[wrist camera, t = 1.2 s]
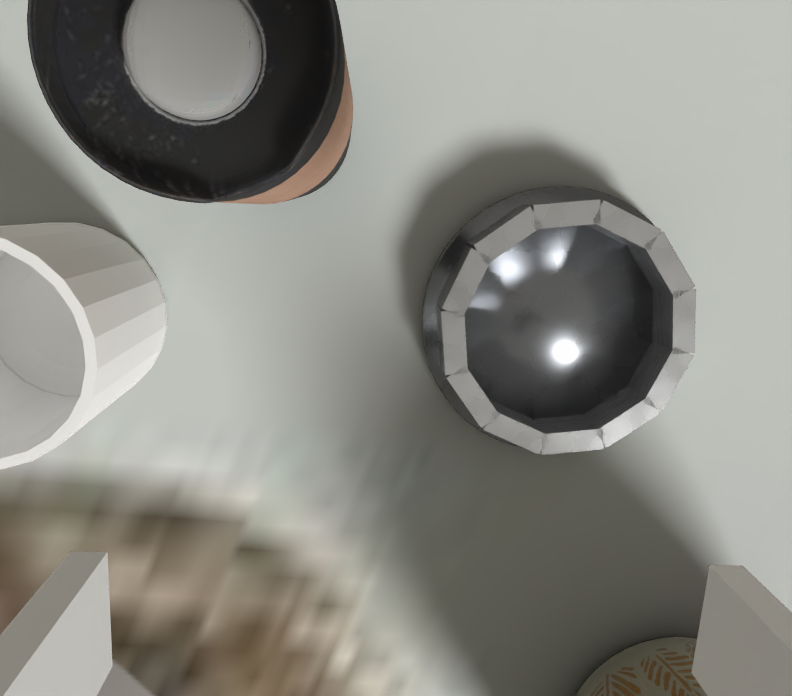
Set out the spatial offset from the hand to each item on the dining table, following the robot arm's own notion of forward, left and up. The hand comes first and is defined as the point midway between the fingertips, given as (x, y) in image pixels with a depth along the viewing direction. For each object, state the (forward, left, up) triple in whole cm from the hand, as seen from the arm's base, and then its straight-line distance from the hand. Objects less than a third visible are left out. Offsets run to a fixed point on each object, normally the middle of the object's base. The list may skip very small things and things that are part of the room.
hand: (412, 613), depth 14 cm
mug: (-17, -6, -25) cm, 30 cm away
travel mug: (-10, +9, -25) cm, 28 cm away
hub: (+8, +6, -24) cm, 26 cm away
